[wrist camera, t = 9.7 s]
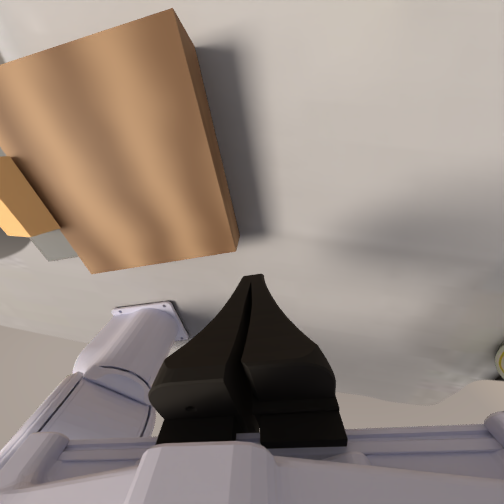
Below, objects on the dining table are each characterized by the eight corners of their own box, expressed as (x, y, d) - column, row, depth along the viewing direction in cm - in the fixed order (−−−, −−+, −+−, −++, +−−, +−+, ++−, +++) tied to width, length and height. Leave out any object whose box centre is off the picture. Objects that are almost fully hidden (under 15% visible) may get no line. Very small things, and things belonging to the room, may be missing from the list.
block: (33, 228, 21) (8, 235, 19) (-10, 173, 18) (-43, 176, 17) (60, 228, 17) (31, 237, 15) (9, 155, 14) (-33, 158, 12)
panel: (117, 256, 23) (91, 274, 19) (21, 98, 16) (-48, 80, 12) (239, 235, 21) (236, 251, 17) (194, 46, 14) (172, 7, 10)
